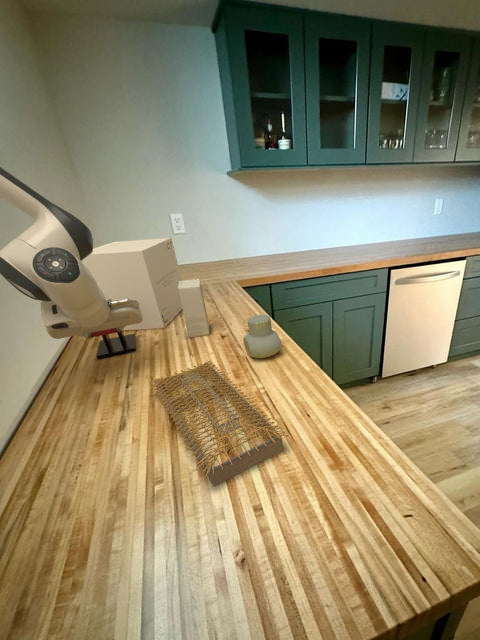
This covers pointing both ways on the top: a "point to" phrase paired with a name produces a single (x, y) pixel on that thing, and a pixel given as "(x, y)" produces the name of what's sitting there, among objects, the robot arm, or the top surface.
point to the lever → (104, 332)
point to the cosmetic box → (194, 307)
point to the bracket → (116, 345)
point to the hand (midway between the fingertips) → (105, 332)
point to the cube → (139, 277)
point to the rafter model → (206, 394)
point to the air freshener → (261, 337)
